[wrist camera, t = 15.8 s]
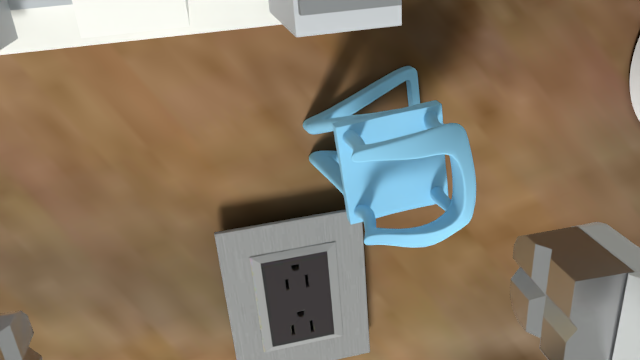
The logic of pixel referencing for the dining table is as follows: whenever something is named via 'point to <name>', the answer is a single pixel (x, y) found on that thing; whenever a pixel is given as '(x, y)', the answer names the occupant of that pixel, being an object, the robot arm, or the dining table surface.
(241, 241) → the electrical outlet
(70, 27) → the white u-shaped cradle
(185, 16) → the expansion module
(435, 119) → the chair
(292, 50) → the dining table surface
